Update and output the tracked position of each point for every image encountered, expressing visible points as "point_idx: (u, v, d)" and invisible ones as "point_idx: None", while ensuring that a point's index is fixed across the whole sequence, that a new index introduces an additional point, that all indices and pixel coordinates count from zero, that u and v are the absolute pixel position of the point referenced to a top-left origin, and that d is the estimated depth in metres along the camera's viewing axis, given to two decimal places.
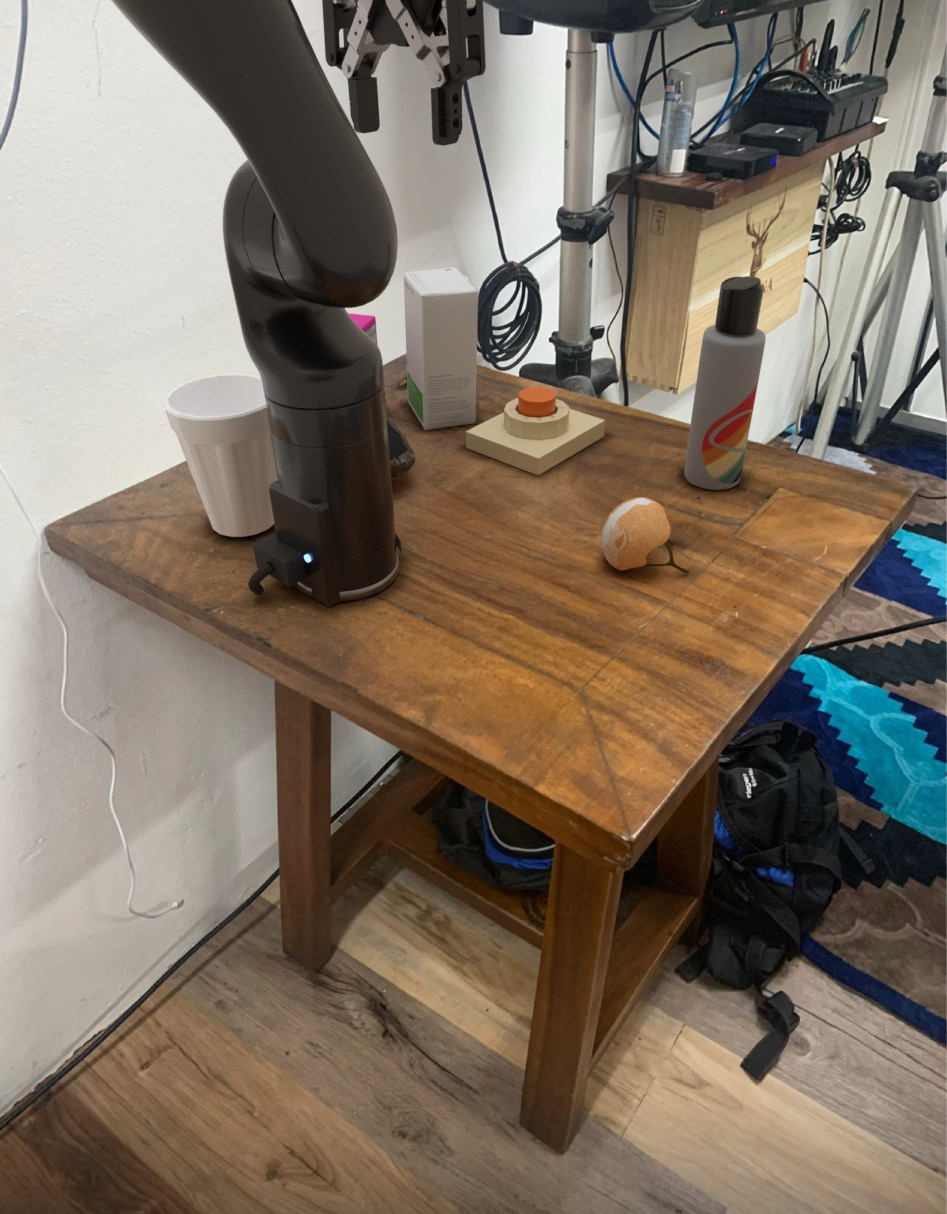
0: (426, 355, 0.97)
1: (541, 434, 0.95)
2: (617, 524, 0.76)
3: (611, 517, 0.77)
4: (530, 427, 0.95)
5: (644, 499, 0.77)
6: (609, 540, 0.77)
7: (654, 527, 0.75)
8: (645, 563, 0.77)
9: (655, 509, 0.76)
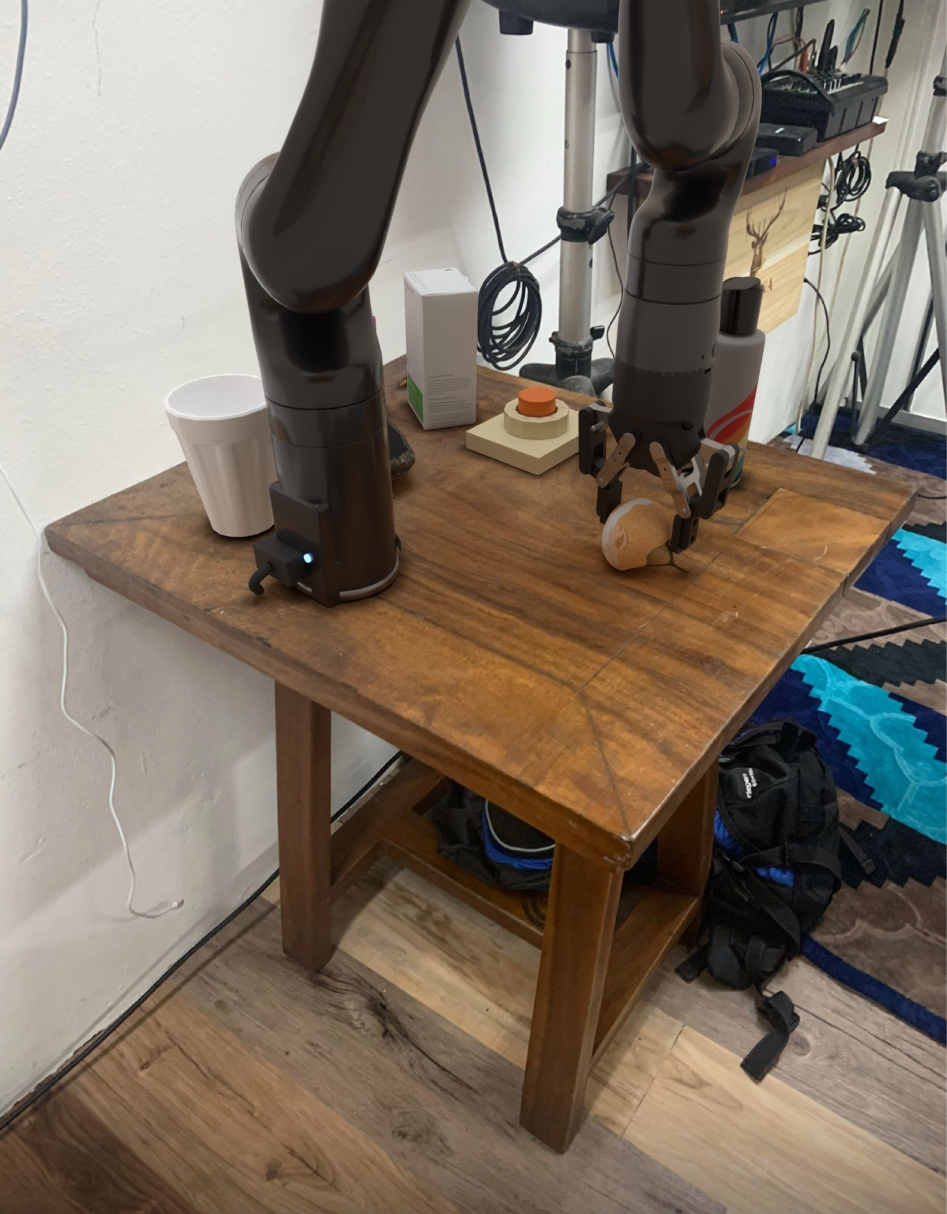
0: (426, 355, 0.97)
1: (541, 434, 0.95)
2: (617, 524, 0.76)
3: (611, 517, 0.77)
4: (530, 427, 0.95)
5: (644, 499, 0.77)
6: (609, 540, 0.77)
7: (654, 527, 0.75)
8: (645, 563, 0.77)
9: (655, 509, 0.76)
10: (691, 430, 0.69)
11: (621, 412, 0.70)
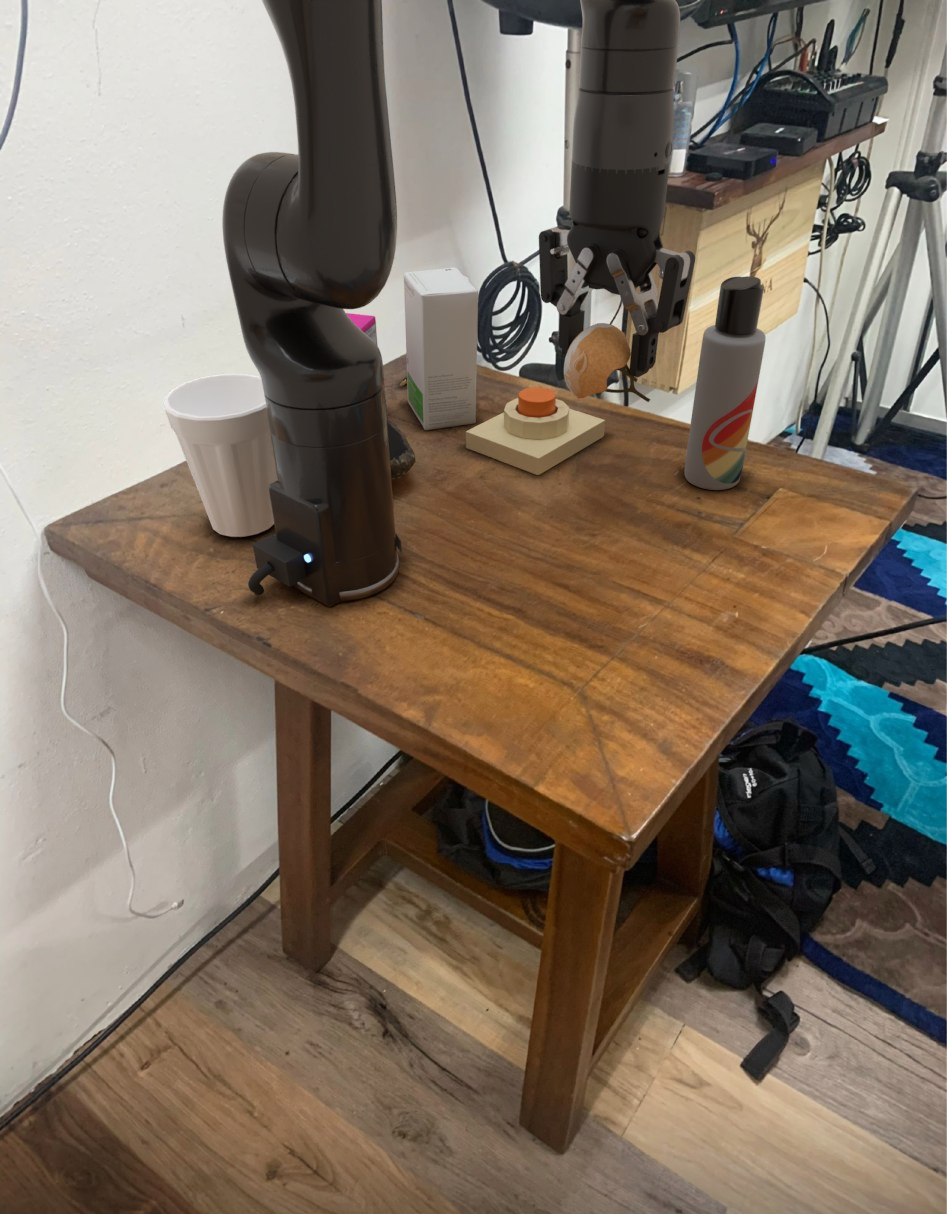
0: (426, 355, 0.97)
1: (541, 434, 0.95)
2: (578, 348, 0.77)
3: (572, 343, 0.78)
4: (530, 427, 0.95)
5: (605, 323, 0.77)
6: (570, 365, 0.78)
7: (614, 349, 0.76)
8: (606, 388, 0.78)
9: (615, 332, 0.77)
10: (646, 237, 0.70)
11: (577, 220, 0.71)
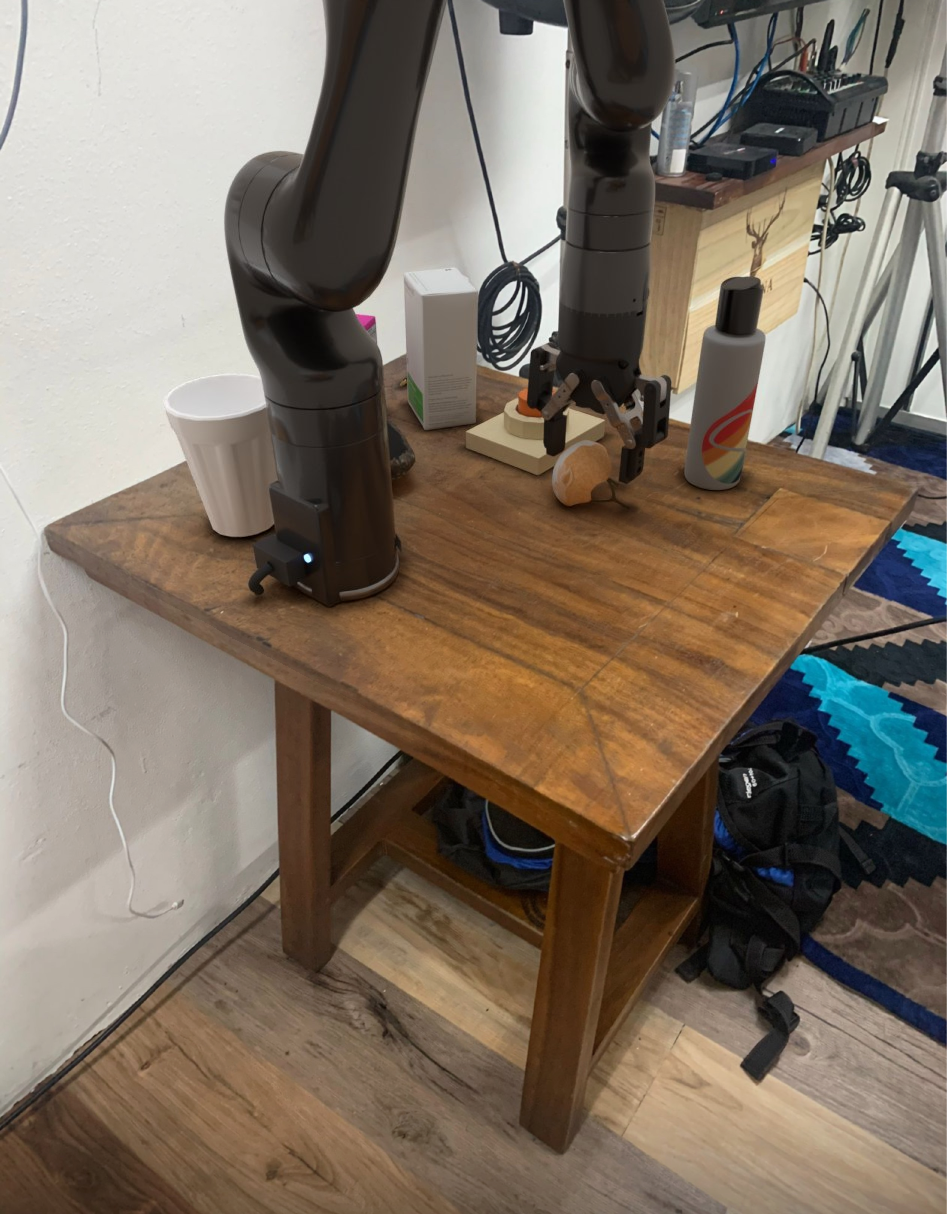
0: (426, 355, 0.97)
1: (541, 434, 0.95)
2: (564, 463, 0.85)
3: (560, 458, 0.87)
4: (530, 427, 0.95)
5: (589, 441, 0.86)
6: (558, 478, 0.86)
7: (597, 465, 0.85)
8: (590, 498, 0.86)
9: (598, 449, 0.85)
10: (627, 368, 0.78)
11: (564, 352, 0.78)
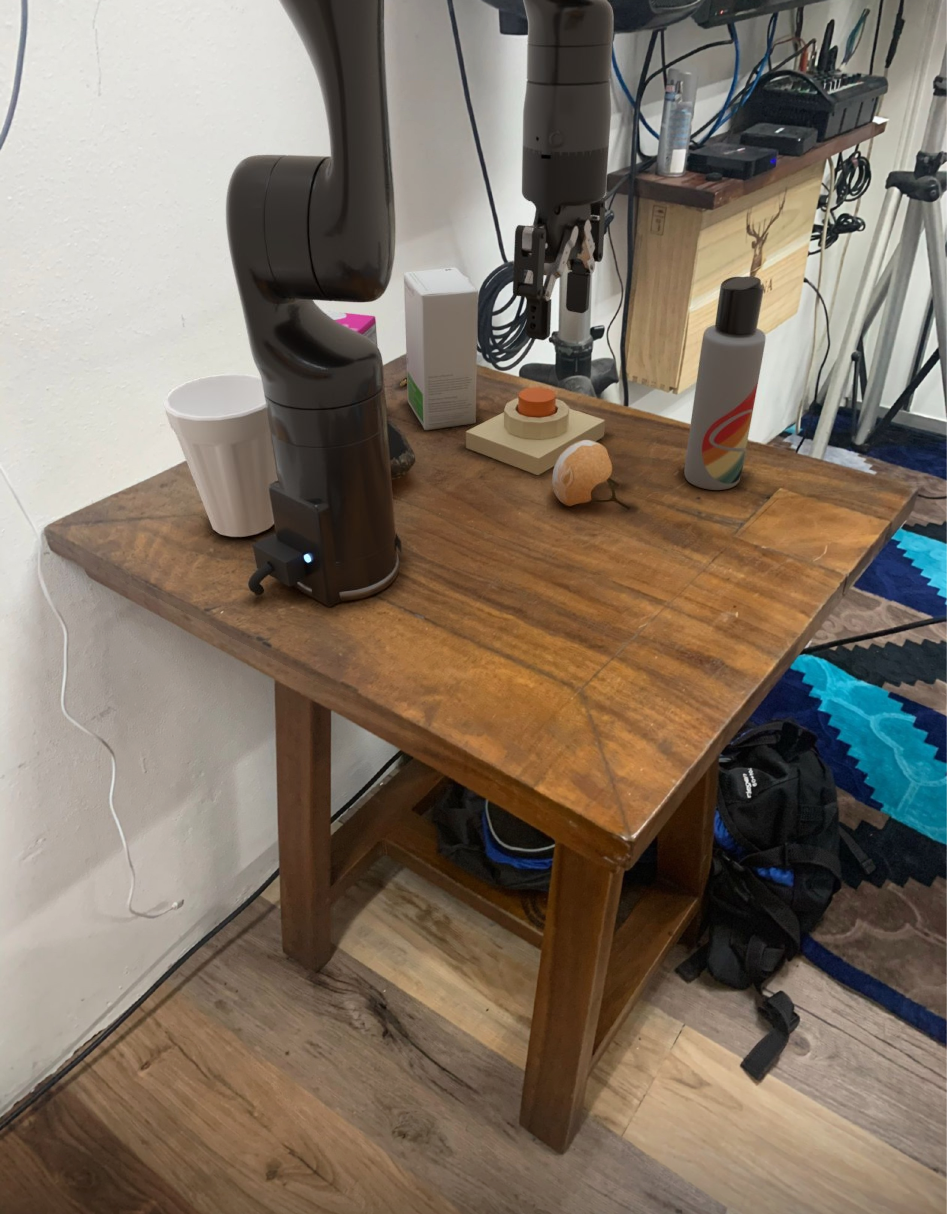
0: (426, 355, 0.97)
1: (541, 434, 0.95)
2: (564, 463, 0.85)
3: (560, 458, 0.87)
4: (530, 427, 0.95)
5: (589, 441, 0.86)
6: (558, 478, 0.86)
7: (597, 465, 0.85)
8: (590, 498, 0.86)
9: (598, 449, 0.85)
10: (535, 212, 0.79)
11: None
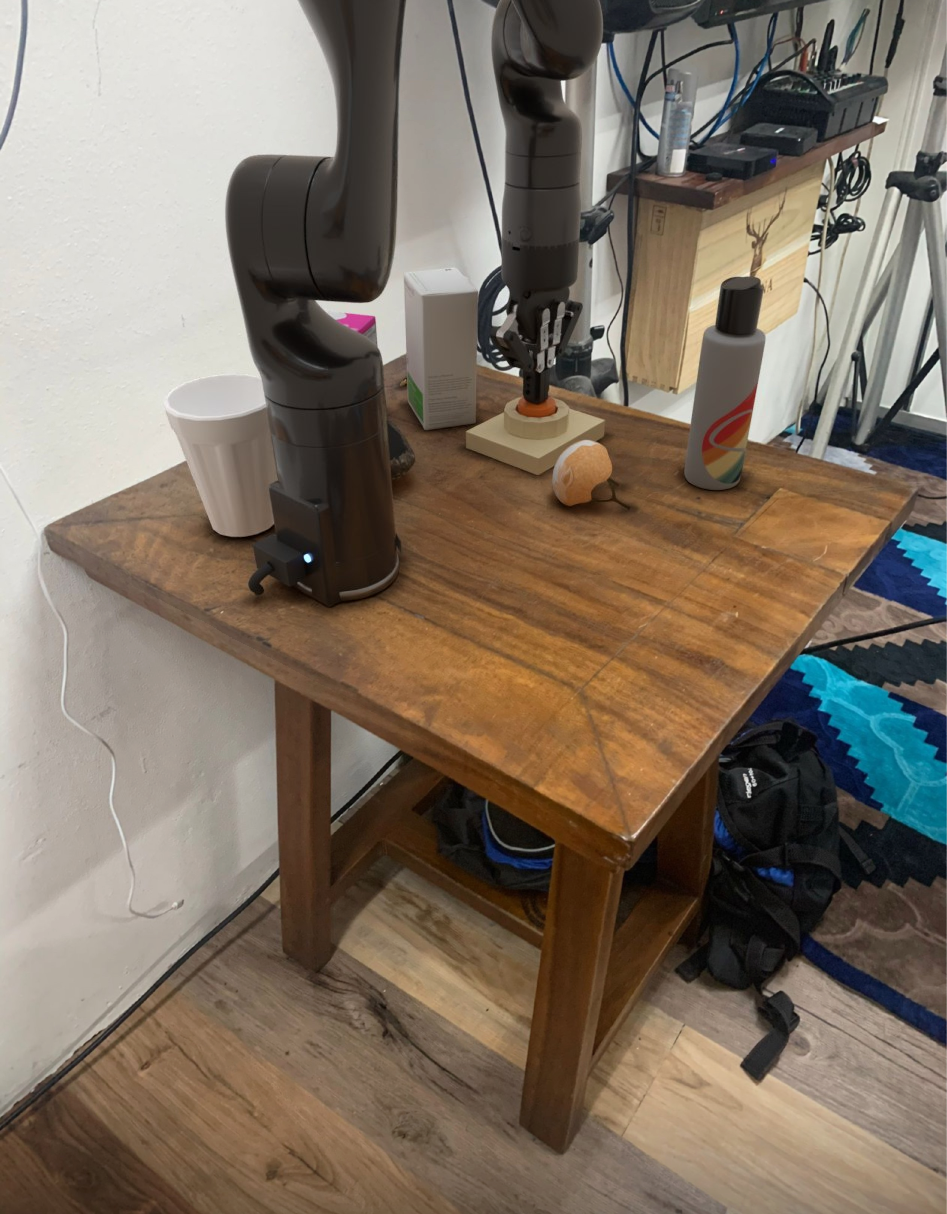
0: (426, 355, 0.97)
1: (541, 434, 0.95)
2: (564, 463, 0.85)
3: (560, 458, 0.87)
4: (530, 427, 0.95)
5: (589, 441, 0.86)
6: (558, 478, 0.86)
7: (597, 465, 0.85)
8: (590, 498, 0.86)
9: (598, 449, 0.85)
10: (509, 295, 0.88)
11: None
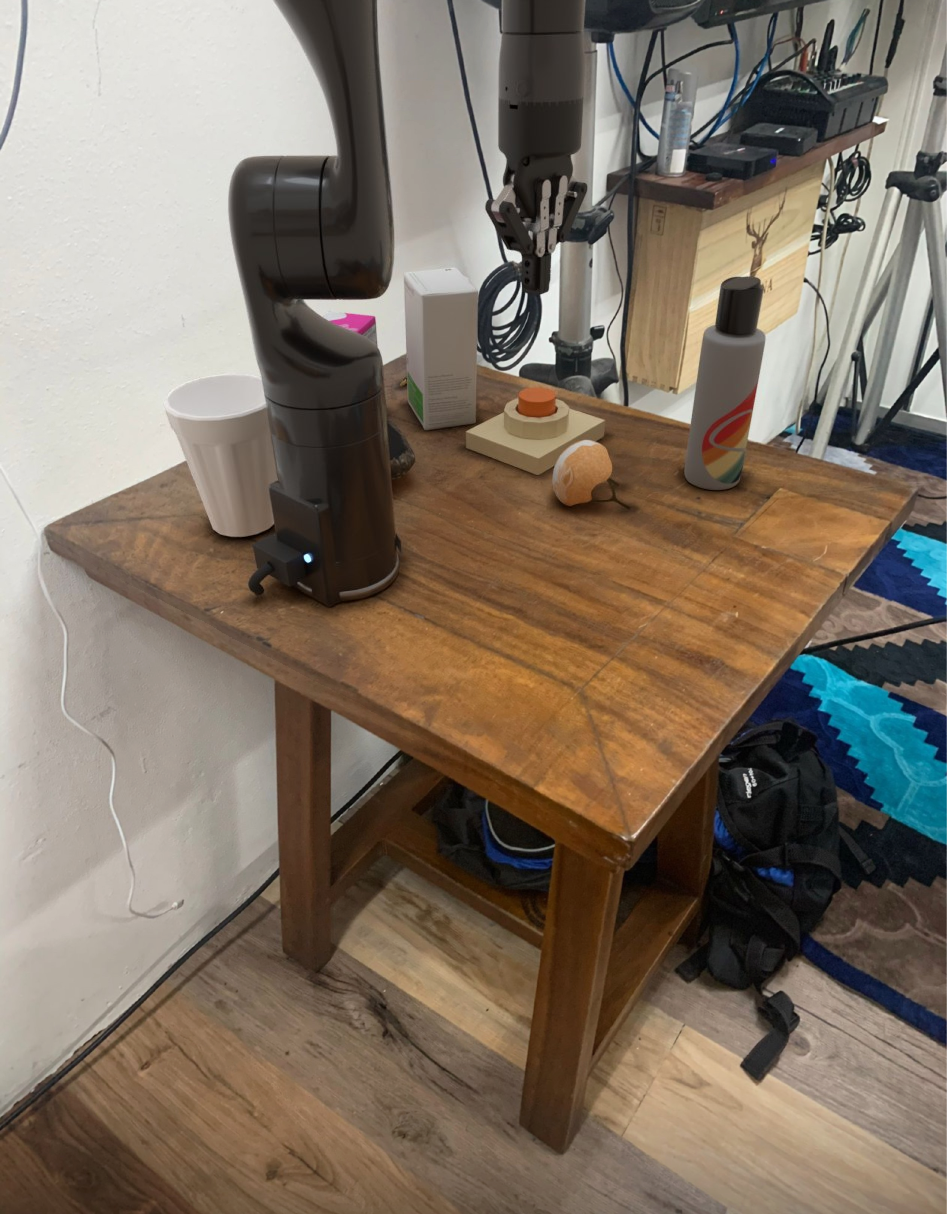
0: (426, 355, 0.97)
1: (541, 434, 0.95)
2: (565, 463, 0.85)
3: (560, 457, 0.87)
4: (530, 427, 0.95)
5: (589, 441, 0.86)
6: (558, 478, 0.86)
7: (597, 465, 0.85)
8: (590, 498, 0.86)
9: (598, 449, 0.85)
10: (506, 163, 0.81)
11: None
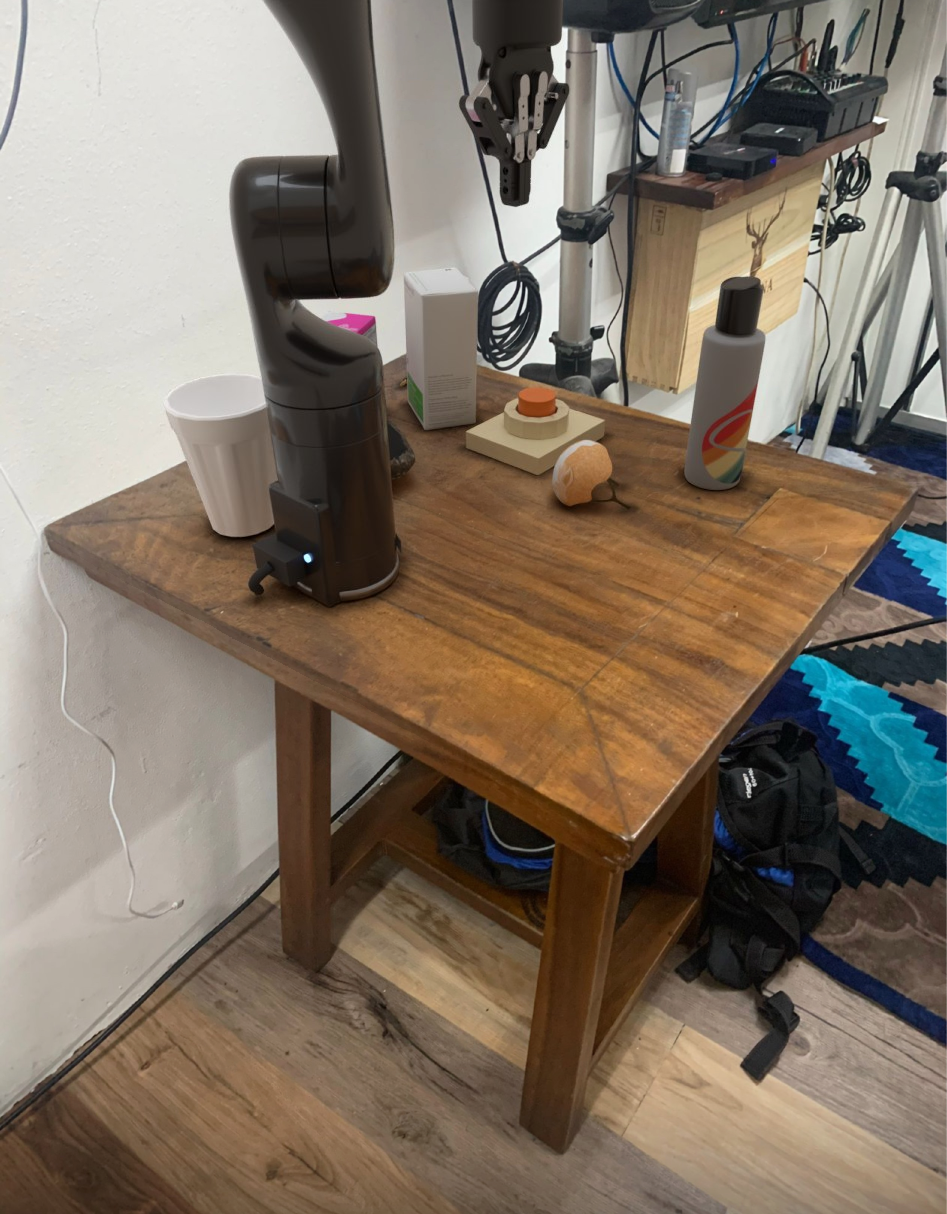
0: (426, 355, 0.97)
1: (541, 434, 0.95)
2: (565, 463, 0.85)
3: (560, 458, 0.87)
4: (530, 427, 0.95)
5: (589, 441, 0.86)
6: (558, 478, 0.86)
7: (597, 465, 0.85)
8: (590, 498, 0.86)
9: (598, 449, 0.85)
10: (481, 56, 0.75)
11: None
